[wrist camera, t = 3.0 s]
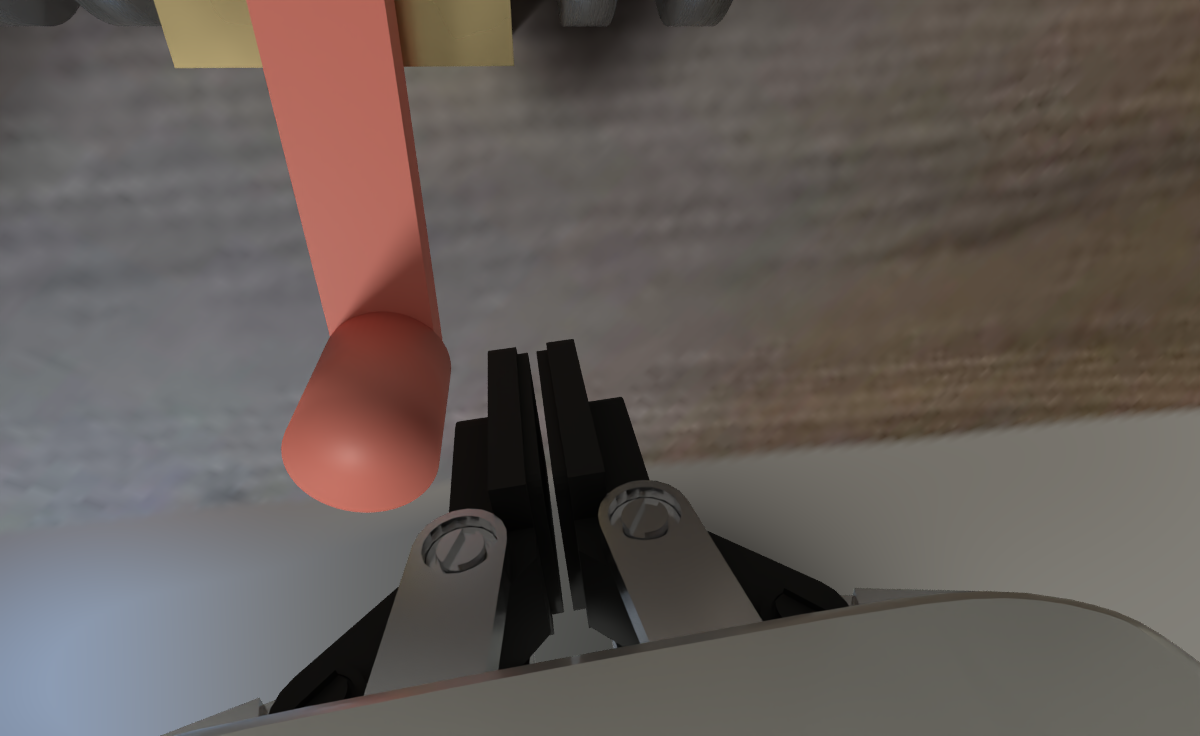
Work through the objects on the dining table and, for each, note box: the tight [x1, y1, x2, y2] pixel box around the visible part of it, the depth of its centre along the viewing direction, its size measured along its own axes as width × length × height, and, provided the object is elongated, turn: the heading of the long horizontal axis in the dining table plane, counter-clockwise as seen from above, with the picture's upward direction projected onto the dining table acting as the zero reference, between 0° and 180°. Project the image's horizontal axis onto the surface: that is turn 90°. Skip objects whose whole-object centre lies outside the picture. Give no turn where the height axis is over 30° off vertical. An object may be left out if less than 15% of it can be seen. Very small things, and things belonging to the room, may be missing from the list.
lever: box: [246, 0, 451, 512], centre depth 12 cm, size 13×4×5 cm, turn 179°
